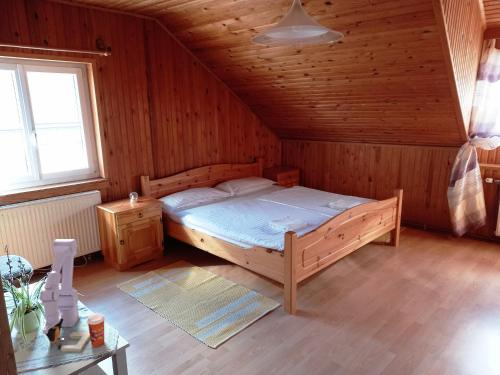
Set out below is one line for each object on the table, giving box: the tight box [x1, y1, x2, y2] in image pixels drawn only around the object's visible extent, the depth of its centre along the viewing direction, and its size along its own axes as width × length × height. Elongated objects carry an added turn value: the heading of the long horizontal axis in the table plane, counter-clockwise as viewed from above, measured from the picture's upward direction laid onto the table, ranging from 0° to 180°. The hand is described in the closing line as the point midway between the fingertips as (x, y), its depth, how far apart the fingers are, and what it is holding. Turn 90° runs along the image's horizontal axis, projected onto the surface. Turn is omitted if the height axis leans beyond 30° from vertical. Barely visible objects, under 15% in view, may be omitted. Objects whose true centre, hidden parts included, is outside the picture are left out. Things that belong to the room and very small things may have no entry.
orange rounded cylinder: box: [49, 326, 61, 345], centre depth 172 cm, size 4×4×6 cm
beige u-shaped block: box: [60, 331, 90, 353], centre depth 172 cm, size 12×9×2 cm
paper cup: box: [86, 312, 106, 348], centre depth 170 cm, size 8×8×14 cm
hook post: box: [56, 337, 65, 351], centre depth 167 cm, size 2×3×5 cm, turn 91°
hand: (54, 337), depth 173 cm, fingers closed on orange rounded cylinder, 4 cm apart
